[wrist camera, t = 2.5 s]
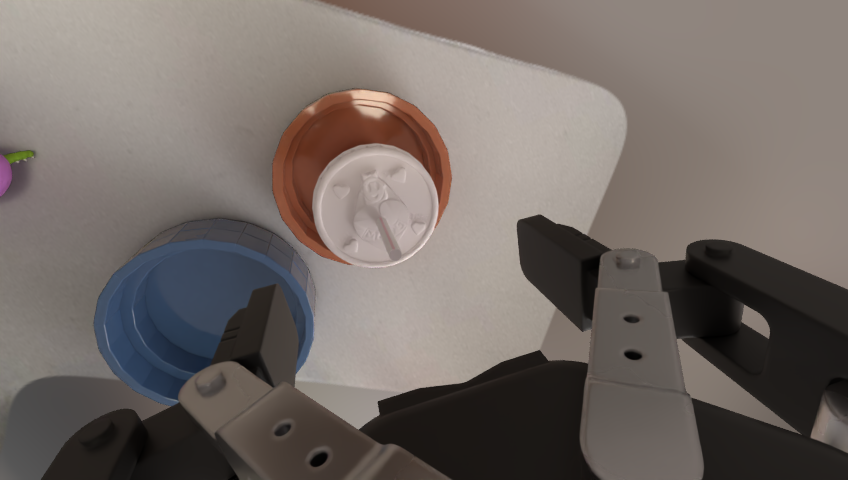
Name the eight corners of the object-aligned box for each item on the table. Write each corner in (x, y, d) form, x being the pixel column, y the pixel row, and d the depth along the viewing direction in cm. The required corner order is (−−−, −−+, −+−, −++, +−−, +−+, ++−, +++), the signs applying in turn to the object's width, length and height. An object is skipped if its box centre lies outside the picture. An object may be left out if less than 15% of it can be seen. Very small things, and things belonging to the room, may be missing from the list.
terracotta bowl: (306, 259, 30) (304, 283, 27) (255, 107, 26) (244, 111, 22) (446, 223, 32) (462, 241, 28) (420, 74, 27) (435, 72, 24)
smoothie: (330, 225, 29) (337, 331, 17) (302, 138, 27) (284, 187, 14) (413, 202, 30) (478, 286, 18) (393, 116, 28) (453, 143, 15)
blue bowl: (174, 389, 31) (152, 434, 27) (90, 243, 26) (48, 272, 22) (334, 342, 33) (335, 378, 29) (285, 197, 28) (279, 216, 24)
